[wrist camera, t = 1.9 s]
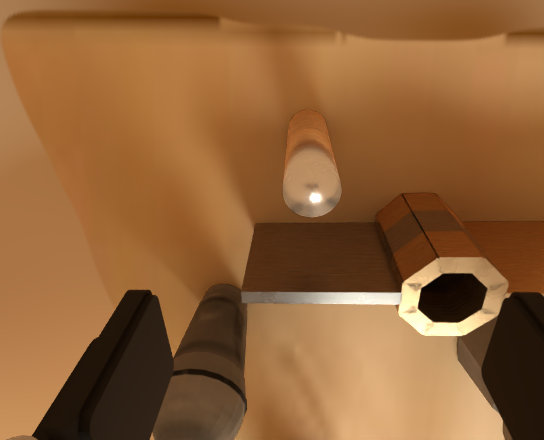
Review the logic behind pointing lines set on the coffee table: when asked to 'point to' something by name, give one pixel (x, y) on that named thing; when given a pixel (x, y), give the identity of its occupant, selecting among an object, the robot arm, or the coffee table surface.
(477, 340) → the coffeepot
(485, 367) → the robot arm
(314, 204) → the steel pin
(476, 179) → the coffee table surface
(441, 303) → the hinge
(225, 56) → the coffee table surface
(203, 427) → the beverage cup
